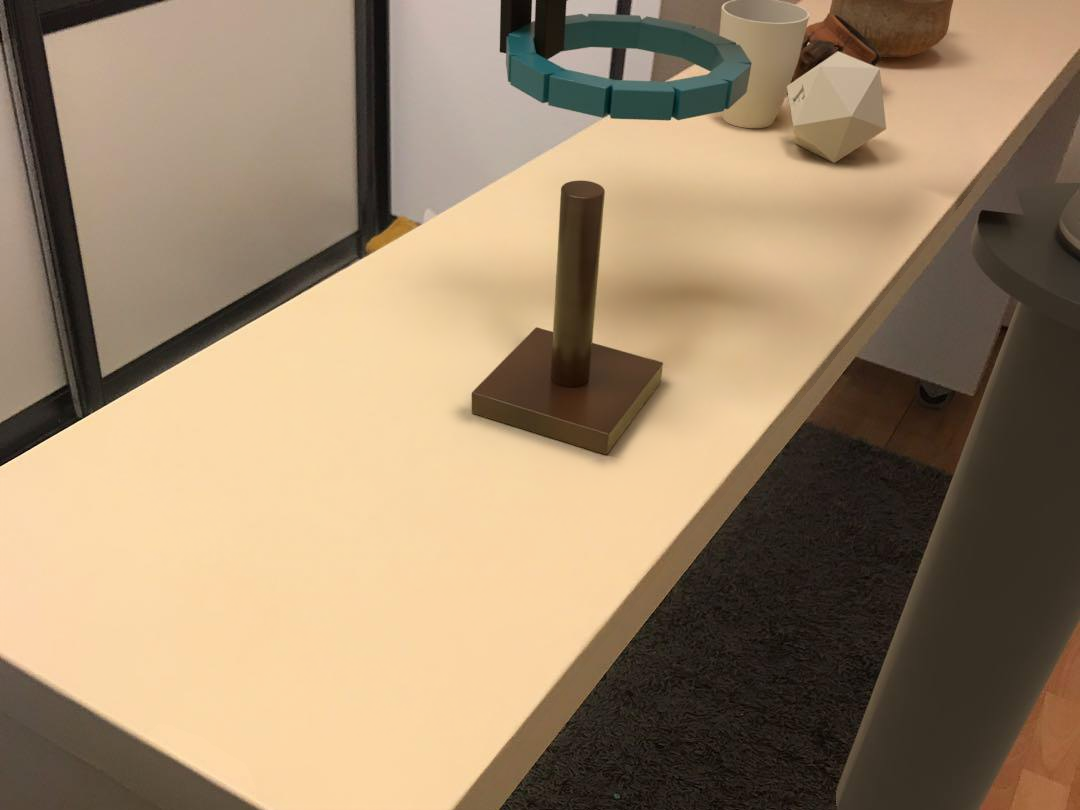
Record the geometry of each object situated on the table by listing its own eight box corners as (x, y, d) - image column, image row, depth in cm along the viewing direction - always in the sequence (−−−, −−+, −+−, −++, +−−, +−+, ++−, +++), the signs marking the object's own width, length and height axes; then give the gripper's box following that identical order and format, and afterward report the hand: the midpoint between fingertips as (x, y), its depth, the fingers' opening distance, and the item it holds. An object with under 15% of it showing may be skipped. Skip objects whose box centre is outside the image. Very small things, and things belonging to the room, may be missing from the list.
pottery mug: (779, 73, 118) (831, 5, 114) (842, 129, 118) (897, 63, 113) (750, 72, 108) (806, -2, 104) (819, 134, 108) (878, 62, 103)
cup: (799, 115, 107) (820, 7, 101) (773, 140, 102) (793, 28, 95) (723, 99, 110) (739, -7, 103) (694, 122, 104) (709, 12, 98)
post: (660, 382, 69) (688, 177, 60) (606, 455, 62) (628, 239, 54) (535, 346, 71) (543, 145, 62) (471, 413, 65) (470, 200, 56)
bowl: (838, 5, 134) (880, -79, 126) (938, 58, 132) (985, -24, 125) (795, 38, 121) (839, -52, 114) (904, 97, 119) (955, 9, 112)
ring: (773, 68, 67) (778, 41, 66) (695, 139, 57) (700, 108, 56) (568, 27, 71) (570, 1, 70) (463, 86, 61) (463, 56, 60)
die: (798, 132, 105) (766, 55, 98) (890, 95, 102) (864, 12, 94) (809, 195, 101) (776, 120, 94) (905, 159, 98) (879, 77, 90)
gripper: (376, -489, 50) (397, 45, 65) (668, -481, 45) (617, 91, 61) (456, -476, 55) (458, 16, 70) (726, -467, 50) (665, 57, 66)
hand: (531, 50), depth 65 cm, fingers closed on ring, 2 cm apart
